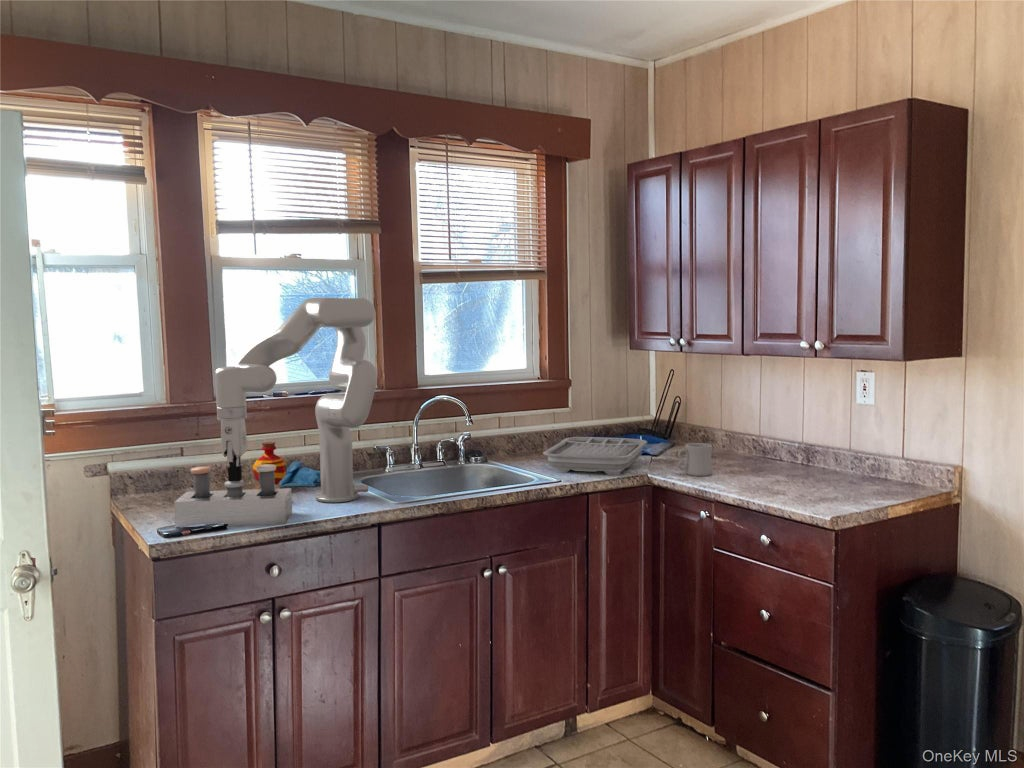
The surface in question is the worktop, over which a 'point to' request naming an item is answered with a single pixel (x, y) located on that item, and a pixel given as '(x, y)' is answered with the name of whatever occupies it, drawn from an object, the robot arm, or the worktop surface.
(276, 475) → the potion bottle
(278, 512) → the mount
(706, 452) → the mug
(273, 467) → the knob
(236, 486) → the knob mid
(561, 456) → the dish rack
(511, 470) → the worktop surface
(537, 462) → the worktop surface
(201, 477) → the knob
